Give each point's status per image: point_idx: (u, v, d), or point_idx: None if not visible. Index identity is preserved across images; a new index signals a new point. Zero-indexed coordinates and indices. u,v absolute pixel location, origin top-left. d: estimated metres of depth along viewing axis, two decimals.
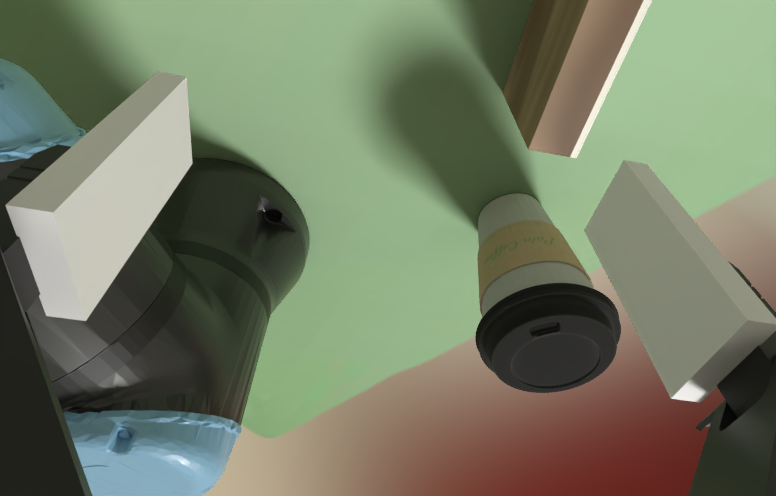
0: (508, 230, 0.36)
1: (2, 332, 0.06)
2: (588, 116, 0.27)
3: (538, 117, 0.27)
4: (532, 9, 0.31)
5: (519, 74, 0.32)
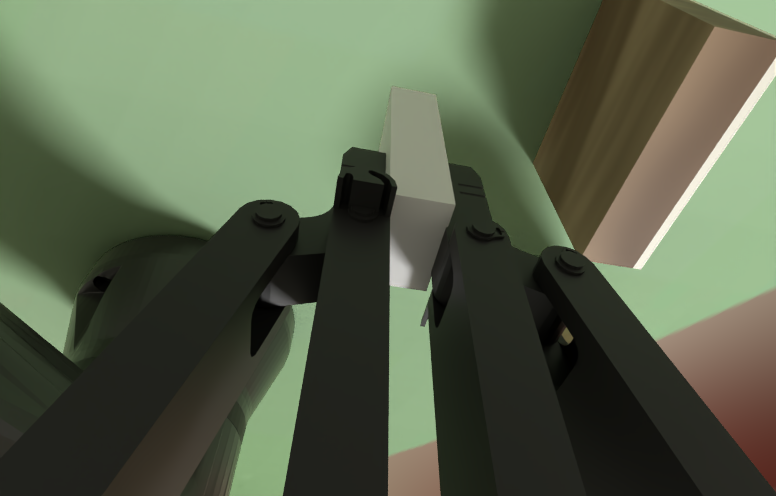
0: None
1: (374, 301, 0.08)
2: (663, 222, 0.20)
3: (595, 221, 0.21)
4: (576, 68, 0.25)
5: (559, 148, 0.25)
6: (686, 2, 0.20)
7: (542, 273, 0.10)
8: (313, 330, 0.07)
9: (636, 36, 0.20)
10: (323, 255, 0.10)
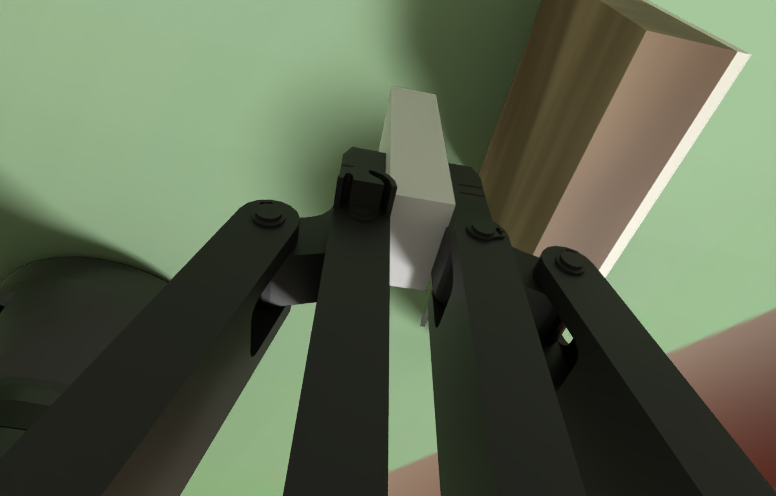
0: None
1: (374, 301, 0.08)
2: (602, 263, 0.17)
3: None
4: (516, 76, 0.21)
5: (497, 167, 0.22)
6: (630, 0, 0.16)
7: (542, 273, 0.10)
8: (313, 330, 0.07)
9: (570, 40, 0.16)
10: (323, 255, 0.10)
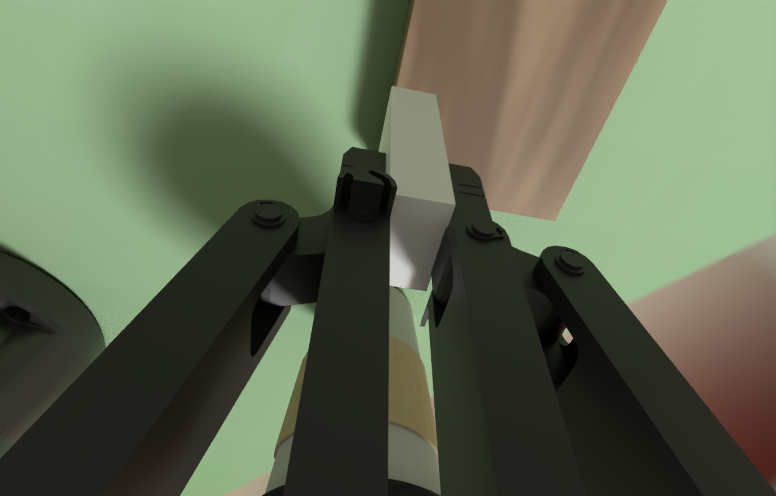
0: None
1: (374, 301, 0.08)
2: None
3: (561, 187, 0.22)
4: (410, 68, 0.19)
5: None
6: None
7: (542, 273, 0.10)
8: (313, 330, 0.07)
9: (537, 18, 0.18)
10: (323, 255, 0.10)
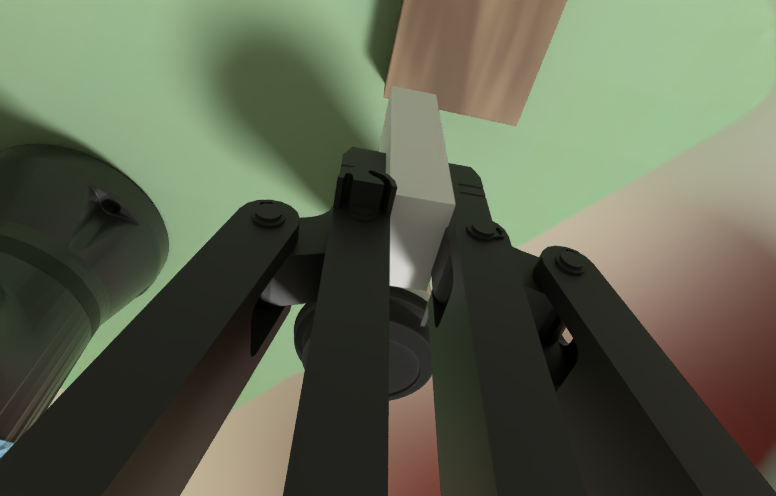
0: None
1: (374, 301, 0.08)
2: None
3: (520, 98, 0.31)
4: (410, 1, 0.27)
5: (429, 71, 0.30)
6: None
7: (542, 273, 0.10)
8: (313, 330, 0.07)
9: None
10: (323, 255, 0.10)
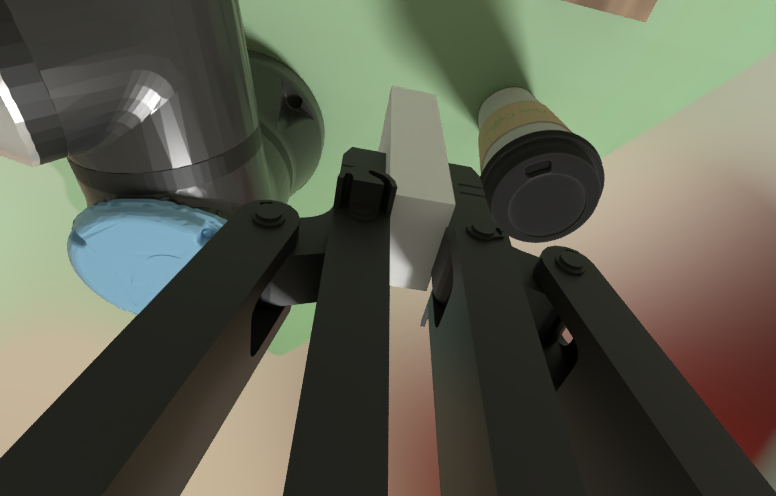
0: (506, 108, 0.41)
1: (374, 301, 0.08)
2: None
3: None
4: None
5: None
6: None
7: (542, 273, 0.10)
8: (313, 330, 0.07)
9: None
10: (323, 255, 0.10)
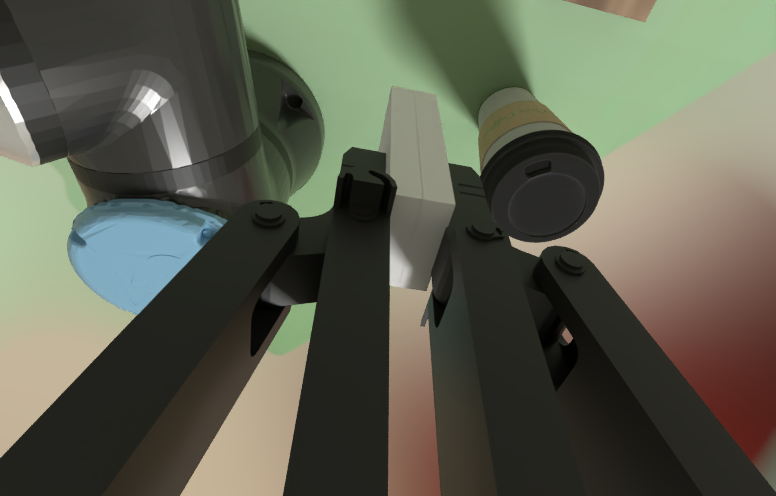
0: (506, 108, 0.41)
1: (374, 301, 0.08)
2: None
3: None
4: None
5: None
6: None
7: (542, 273, 0.10)
8: (313, 330, 0.07)
9: None
10: (323, 255, 0.10)
